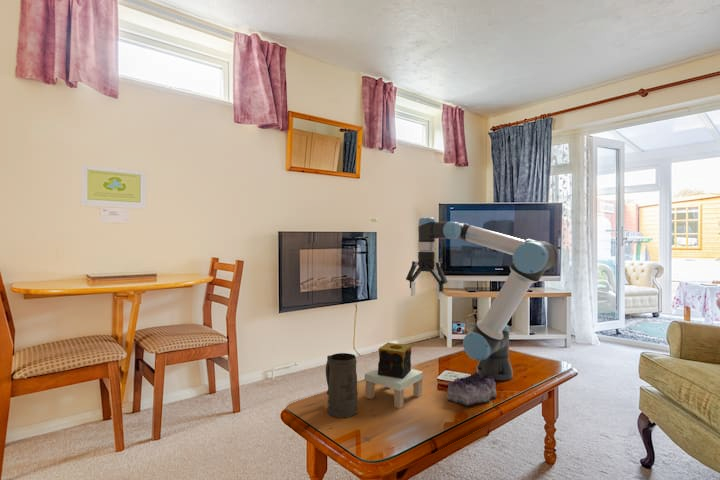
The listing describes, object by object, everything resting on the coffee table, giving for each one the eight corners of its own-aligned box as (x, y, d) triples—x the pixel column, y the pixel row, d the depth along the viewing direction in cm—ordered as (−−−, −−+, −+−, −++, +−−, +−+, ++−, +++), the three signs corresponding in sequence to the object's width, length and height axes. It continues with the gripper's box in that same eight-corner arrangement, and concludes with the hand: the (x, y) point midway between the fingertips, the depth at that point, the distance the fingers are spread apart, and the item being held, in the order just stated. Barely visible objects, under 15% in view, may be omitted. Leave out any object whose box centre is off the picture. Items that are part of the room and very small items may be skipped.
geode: (480, 388, 159) (483, 365, 158) (502, 403, 149) (506, 378, 148) (440, 396, 150) (444, 371, 149) (461, 412, 140) (465, 385, 138)
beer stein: (365, 411, 138) (362, 354, 138) (344, 421, 130) (341, 361, 130) (334, 401, 148) (332, 349, 148) (313, 410, 140) (311, 355, 140)
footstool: (422, 395, 152) (423, 371, 152) (400, 409, 139) (400, 384, 139) (388, 384, 162) (388, 363, 162) (364, 397, 150) (364, 373, 149)
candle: (377, 375, 148) (377, 348, 148) (386, 366, 157) (386, 341, 157) (403, 379, 144) (403, 352, 143) (411, 370, 153) (411, 345, 153)
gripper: (455, 251, 177) (454, 299, 178) (407, 250, 193) (407, 293, 193) (447, 252, 171) (446, 301, 172) (399, 250, 187) (398, 295, 187)
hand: (425, 297), depth 183 cm, fingers open, 13 cm apart
